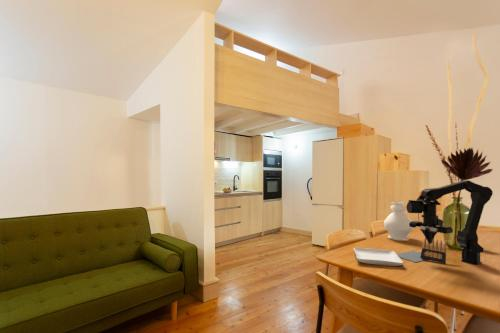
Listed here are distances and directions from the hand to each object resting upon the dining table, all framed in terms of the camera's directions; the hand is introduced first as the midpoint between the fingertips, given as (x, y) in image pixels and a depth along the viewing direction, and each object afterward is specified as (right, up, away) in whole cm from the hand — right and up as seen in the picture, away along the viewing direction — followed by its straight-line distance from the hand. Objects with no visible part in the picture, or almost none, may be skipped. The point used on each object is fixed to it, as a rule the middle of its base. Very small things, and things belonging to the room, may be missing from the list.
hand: (430, 243), depth 138 cm
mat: (-3, -9, +8) cm, 12 cm away
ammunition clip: (+1, -9, -1) cm, 9 cm away
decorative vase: (+10, -10, +47) cm, 49 cm away
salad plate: (-27, -10, +3) cm, 28 cm away
